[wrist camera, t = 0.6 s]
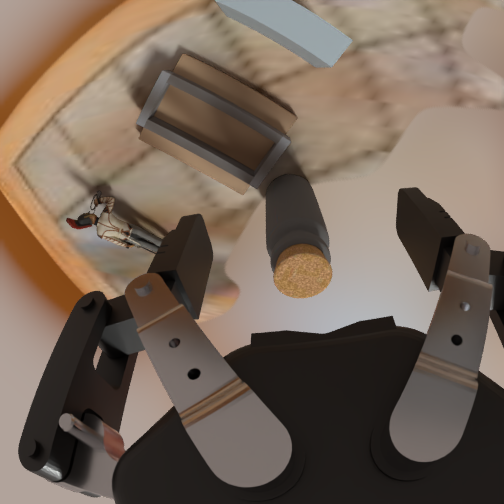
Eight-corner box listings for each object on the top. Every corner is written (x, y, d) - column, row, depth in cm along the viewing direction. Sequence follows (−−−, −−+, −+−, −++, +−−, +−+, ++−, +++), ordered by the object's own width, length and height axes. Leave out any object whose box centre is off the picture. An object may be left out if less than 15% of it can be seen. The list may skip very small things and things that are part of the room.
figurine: (175, 221, 42) (81, 184, 34) (184, 220, 39) (80, 179, 31) (162, 260, 41) (66, 225, 34) (170, 263, 38) (63, 225, 30)
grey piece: (181, 52, 25) (173, 50, 23) (300, 118, 30) (304, 123, 27) (138, 134, 31) (127, 141, 28) (247, 193, 35) (245, 205, 33)
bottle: (295, 224, 38) (309, 312, 25) (256, 202, 36) (252, 286, 24) (323, 190, 35) (354, 268, 22) (283, 164, 33) (295, 233, 21)
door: (243, -6, 21) (236, -28, 15) (331, 46, 25) (352, 40, 18) (226, 16, 23) (214, 0, 17) (315, 67, 26) (331, 67, 20)
